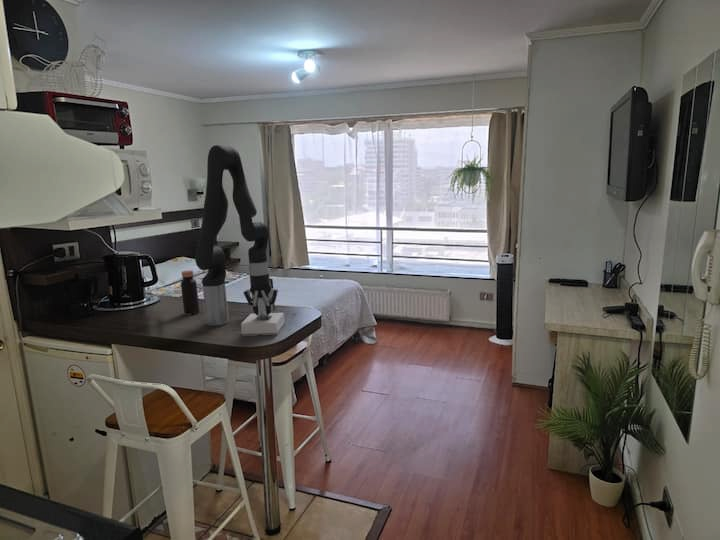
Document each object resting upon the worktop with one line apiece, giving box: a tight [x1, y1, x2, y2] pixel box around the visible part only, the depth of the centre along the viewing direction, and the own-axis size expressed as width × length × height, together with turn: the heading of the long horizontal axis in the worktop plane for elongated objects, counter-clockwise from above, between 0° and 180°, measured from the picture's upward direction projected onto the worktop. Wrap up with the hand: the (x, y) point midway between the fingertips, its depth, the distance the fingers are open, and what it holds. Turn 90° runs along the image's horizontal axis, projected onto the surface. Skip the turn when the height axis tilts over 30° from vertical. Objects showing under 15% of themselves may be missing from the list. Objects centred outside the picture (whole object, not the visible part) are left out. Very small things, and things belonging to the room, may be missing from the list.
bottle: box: [180, 270, 200, 315], centre depth 215 cm, size 7×7×20 cm
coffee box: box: [250, 277, 276, 313], centre depth 210 cm, size 9×6×16 cm
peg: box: [257, 298, 269, 321], centre depth 186 cm, size 4×4×10 cm
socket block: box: [240, 312, 285, 337], centre depth 187 cm, size 14×14×5 cm
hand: (263, 314), depth 187 cm, fingers closed on peg, 4 cm apart
